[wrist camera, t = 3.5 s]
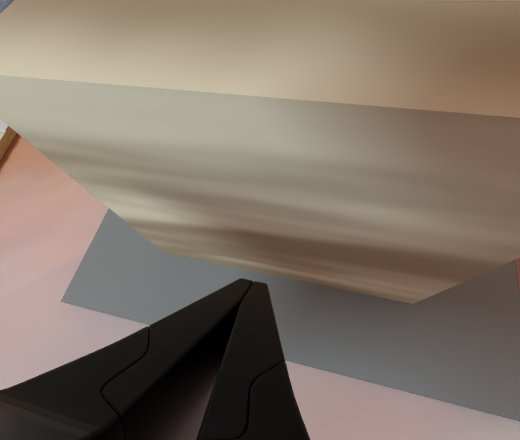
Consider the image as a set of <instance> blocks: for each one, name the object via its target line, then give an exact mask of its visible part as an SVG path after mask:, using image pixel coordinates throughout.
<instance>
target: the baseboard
mask: <svg viewBox="0 0 520 440" xmlns="http://www.w3.org/2000/svg"><path fill="white" fill-rule="evenodd" d="M16 134H17V132H15V131H14V130H13V129H12V128H11V127H9V126H8V125H7V124H6V123H4V122H3V121H2V120H1V119H0V160H1V158H2V157H3V155H4V153H5V152H6V150H7V148H8V147H9V145H10V143H11V142H12V140H13V139H14V137H15V135H16Z"/></svg>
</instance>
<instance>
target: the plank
mask: <svg viewBox="0 0 520 440" xmlns="http://www.w3.org/2000/svg"><path fill="white" fill-rule="evenodd" d="M0 119H1V120H2V121H3V122H4V123H6V124H7V125H8V126H9V127H11V128H12V129H13V130H14V131H15V132H17V133H18V134H19V135H20V136H22V137H23V138H24V139H25V140H26V141H28V142H29V143H30V144H31V145H33V146H34V147H35V148H36V149H37V150H39V151H40V152H41V153H42V154H44V155H45V156H46V157H47V158H48V159H50V160H51V161H52V162H53V163H55V164H56V165H57V166H58V167H59V168H61V169H62V170H63V171H64V172H66V173H67V174H68V175H69V176H70V177H72V178H73V179H74V180H75V181H77V182H78V183H79V184H80V185H81V186H83V187H84V188H85V189H86V190H88V191H89V192H90V193H91V194H92V195H94V196H95V197H96V198H97V199H99V200H100V201H101V202H102V203H103V204H105V205H106V206H107V207H108V208H110V209H111V210H112V211H113V212H114V213H116V214H117V215H118V216H119V217H121V218H122V219H123V220H124V221H125V222H127V223H128V224H129V225H130V226H132V227H133V228H134V229H135V230H136V231H138V232H139V233H140V234H141V235H143V236H144V237H145V238H146V239H147V240H149V241H150V242H151V243H152V244H154V245H155V246H156V247H157V248H158V249H160V250H161V251H162V252H163V253H165V254H170V255H175V256H180V257H185V258H190V259H195V260H200V261H205V262H210V263H214V264H219V265H224V266H229V267H234V268H239V269H244V270H249V271H254V272H259V273H263V274H268V275H273V276H278V277H283V278H288V279H293V280H298V281H303V282H308V283H312V284H317V285H322V286H327V287H332V288H337V289H342V290H347V291H352V292H357V293H361V294H366V295H371V296H376V297H381V298H386V299H391V300H396V301H401V302H406V303H410V304H414V303H416V302H418V301H421V300H423V299H425V298H428V297H430V296H432V295H435V294H437V293H439V292H442V291H444V290H446V289H449V288H451V287H453V286H455V285H458V284H460V283H462V282H465V281H467V280H469V279H472V278H474V277H476V276H479V275H481V274H483V273H486V272H488V271H490V270H493V269H495V268H497V267H499V266H502V265H504V264H506V263H509V262H511V261H513V260H516V259H518V258H520V1H469V0H14V1H13V2H12V3H11V4H10V5H9V6H8V7H7V8H6V9H5V10H4V11H3V12H2V13H1V14H0Z"/></svg>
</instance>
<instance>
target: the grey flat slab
mask: <svg viewBox="0 0 520 440" xmlns="http://www.w3.org/2000/svg"><path fill="white" fill-rule="evenodd" d="M240 278H243V279H248V280H252V281H253V282H255V281H258V282H262V283H266V284H267V285H268V289H269V293H270V297H271V302H272V306H273V310H274V315H275V319H276V323H277V328H278V332H279V336H280V341H281V345H282V349H283V354H284V358H285V360H287V361H291V362H294V363H298V364H302V365H306V366H310V367H314V368H317V369H321V370H325V371H329V372H333V373H337V374H340V375H344V376H348V377H352V378H356V379H360V380H364V381H367V382H371V383H375V384H379V385H383V386H387V387H390V388H394V389H398V390H402V391H406V392H410V393H413V394H417V395H421V396H425V397H429V398H433V399H437V400H440V401H444V402H448V403H452V404H456V405H460V406H463V407H467V408H471V409H475V410H479V411H483V412H487V413H490V414H494V415H498V416H502V417H506V418H510V419H513V420H517V421H520V291H519V284H518V278H517V272H516V265H515V260H513V261H511V262H509V263H506V264H504V265H502V266H499V267H497V268H495V269H493V270H490V271H488V272H486V273H483V274H481V275H479V276H476V277H474V278H472V279H469V280H467V281H465V282H462V283H460V284H458V285H455V286H453V287H451V288H449V289H446V290H444V291H442V292H439V293H437V294H435V295H432V296H430V297H428V298H425V299H423V300H421V301H418V302H416V303H414V304H410V303H406V302H401V301H396V300H391V299H386V298H381V297H376V296H371V295H366V294H361V293H357V292H352V291H347V290H342V289H337V288H332V287H327V286H322V285H317V284H312V283H308V282H303V281H298V280H293V279H288V278H283V277H278V276H273V275H268V274H263V273H259V272H254V271H249V270H244V269H239V268H234V267H229V266H224V265H219V264H214V263H210V262H205V261H200V260H195V259H190V258H185V257H180V256H175V255H170V254H165V253H163V252H162V251H161V250H160V249H158V248H157V247H156V246H155V245H154V244H152V243H151V242H150V241H149V240H147V239H146V238H145V237H144V236H143V235H141V234H140V233H139V232H138V231H136V230H135V229H134V228H133V227H132V226H130V225H129V224H128V223H127V222H125V221H124V220H123V219H122V218H121V217H119V216H118V215H117V214H116V213H114V212H113V211H112V210H111V209H110V208H109V209H108V211H107V213H106V215H105V217H104V219H103V221H102V223H101V225H100V227H99V229H98V231H97V233H96V235H95V236H94V238H93V240H92V242H91V244H90V246H89V248H88V250H87V252H86V254H85V256H84V258H83V260H82V261H81V263H80V265H79V267H78V269H77V271H76V273H75V275H74V277H73V279H72V281H71V283H70V285H69V287H68V288H67V290H66V292H65V294H64V296H63V298H62V300H61V302H64V303H68V304H71V305H75V306H79V307H83V308H87V309H91V310H95V311H98V312H102V313H106V314H110V315H114V316H118V317H121V318H125V319H129V320H133V321H137V322H141V323H144V324H148V325H151V324H153V323H155V322H157V321H159V320H161V319H163V318H164V317H166V316H168V315H170V314H172V313H174V312H176V311H178V310H180V309H182V308H184V307H186V306H188V305H190V304H191V303H193V302H195V301H197V300H199V299H201V298H203V297H205V296H207V295H209V294H211V293H213V292H215V291H217V290H219V289H220V288H222V287H224V286H226V285H228V284H230V283H232V282H234V281H236V280H238V279H240Z"/></svg>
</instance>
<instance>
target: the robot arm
mask: <svg viewBox="0 0 520 440" xmlns="http://www.w3.org/2000/svg"><path fill="white" fill-rule="evenodd" d="M0 440H310V438H309V435H308V433H307V430H306V427H305V425H304V422H303V420H302V417H301V414H300V411H299V408H298V405H297V402H296V399H295V397H294V393H293V390H292V386H291V382H290V379H289V375H288V370H287V366H286V363H285V358H284V354H283V349H282V345H281V341H280V336H279V332H278V328H277V323H276V319H275V315H274V310H273V306H272V302H271V297H270V293H269V289H268V285H267V284H266V283H262V282H258V281H255V282H253V281H252V280H248V279H243V278H240V279H238V280H236V281H234V282H232V283H230V284H228V285H226V286H224V287H222V288H220V289H219V290H217V291H215V292H213V293H211V294H209V295H207V296H205V297H203V298H201V299H199V300H197V301H195V302H193V303H191V304H190V305H188V306H186V307H184V308H182V309H180V310H178V311H176V312H174V313H172V314H170V315H168V316H166V317H164V318H163V319H161V320H159V321H157V322H155V323H153V324H151V325H150V326H149V327H145V328H143V329H141V330H139V331H137V332H135V333H133V334H131V335H129V336H127V337H125V338H123V339H121V340H119V341H117V342H115V343H113V344H111V345H108V346H106V347H104V348H102V349H99V350H97V351H95V352H93V353H90V354H88V355H86V356H84V357H81V358H79V359H77V360H74V361H72V362H69V363H67V364H65V365H62V366H60V367H58V368H55V369H53V370H51V371H48V372H46V373H44V374H41V375H39V376H37V377H34V378H32V379H29V380H27V381H25V382H22V383H20V384H17V385H15V386H12V387H10V388H6V389H3V390H0Z"/></svg>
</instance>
